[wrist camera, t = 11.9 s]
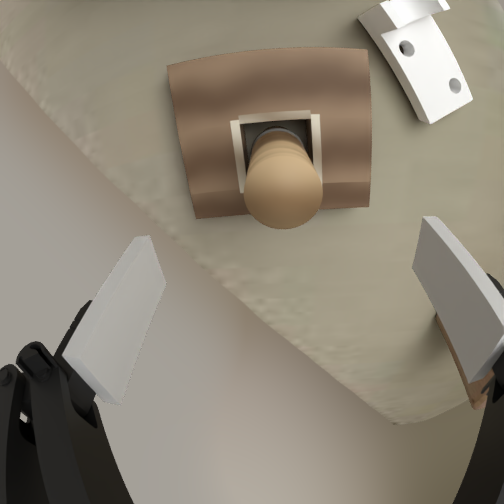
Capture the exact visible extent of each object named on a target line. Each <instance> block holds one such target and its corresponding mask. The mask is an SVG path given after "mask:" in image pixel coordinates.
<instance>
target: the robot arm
mask: <svg viewBox="0 0 504 504" xmlns="http://www.w3.org/2000/svg"><path fill="white" fill-rule="evenodd" d="M412 269H413V270H414V272H415V274H416V275H417V277H418V279H419V281H420V282H421V284H422V286H423V288H424V290H425V291H426V293H427V295H428V297H429V299H430V301H431V302H432V304H433V306H434V308H435V310H436V312H437V314H438V316H439V318H440V320H441V322H442V324H443V326H444V328H445V330H446V332H447V334H448V336H449V339H450V341H451V343H452V345H453V347H454V350H455V352H456V354H457V356H458V359H459V361H460V363H461V366H462V368H463V371H464V373H465V376H466V378H467V381H468V383H472V382H475V381H477V380H480V379H483V378H484V377H485V376H486V375H487V373H488V372H489V371H490V370H491V368H492V370H493V372H494V375H493V377H492V378H491V379H490V380H489V381H488V383H487V384H486V385H485V386H484V387H483V388H482V391H481V394H483V393H484V392H485V391H486V390H487V389H488V388H489V391H488V392H487V394H486V395H487V396H488V397H487V402H486V406H485V411H484V416H483V419H482V423H481V427H480V431H479V434H478V438H477V441H476V445H475V448H474V451H473V454H472V457H471V460H470V463H469V465H468V468H467V471H466V473H465V476H464V479H463V481H462V484H461V486H460V488H459V491H458V493H457V495H456V497H455V500H454V502H453V504H504V289H503V288H502V286H501V285H500V283H499V282H498V281H497V280H496V279H495V278H493V277H492V276H491V275H490V274H486V273H485V272H484V271H483V270H482V268H481V267H480V266H479V264H478V263H477V262H476V261H475V259H474V258H473V257H472V256H471V254H470V253H469V252H468V251H467V250H466V248H465V247H464V246H463V245H462V244H461V243H460V241H459V240H458V239H457V238H456V237H455V236H454V235H453V233H452V232H451V231H450V230H449V229H448V228H447V227H446V226H445V225H444V224H443V223H442V221H441V220H440V219H439V218H438V217H437V216H430V217H423V219H422V224H421V230H420V235H419V240H418V244H417V249H416V254H415V258H414V262H413V266H412ZM166 284H167V283H166V281H165V278H164V275H163V272H162V269H161V267H160V264H159V261H158V258H157V255H156V252H155V250H154V246H153V243H152V240H151V237H150V235H146V236H137V237H135V238H134V239H133V240H132V242H131V243H130V245H129V246H128V247H127V249H126V250H125V252H124V253H123V255H122V256H121V258H120V259H119V260H118V262H117V264H116V265H115V266H114V268H113V270H112V271H111V273H110V274H109V276H108V277H107V279H106V280H105V282H104V283H103V285H102V287H101V288H100V290H99V291H98V293H97V294H96V296H95V298H94V300H89V301H88V302H87V303H86V304H85V305H84V306H83V307H82V308H81V309H80V311H79V312H78V314H77V315H76V317H75V319H74V320H75V321H73V322H72V324H71V326H70V329H69V330H68V331H67V333H66V334H65V336H64V338H63V340H62V341H61V343H60V345H59V347H58V349H57V351H56V352H55V355H54V356H52V355H51V354H50V353H49V351H48V350H47V349H46V348H45V346H44V345H43V344H42V343H41V342H37V341H35V342H31V343H29V344H28V345H26V346H25V347H24V348H23V349H22V350H21V351H20V353H19V354H18V356H17V359H16V364H17V365H18V366H19V368H20V369H21V370H22V371H23V373H21V372H20V371H19V370H18V369H17V368H16V367H15V366H14V365H12V364H8V365H6V366H4V367H3V368H1V369H0V504H134V503H133V501H132V499H131V497H130V495H129V492H128V490H127V488H126V486H125V484H124V481H123V479H122V476H121V474H120V472H119V469H118V467H117V464H116V462H115V459H114V456H113V454H112V451H111V448H110V445H109V442H108V439H107V436H106V433H105V430H104V427H103V424H102V420H101V417H100V413H99V410H98V407H97V405H96V403H95V402H94V401H93V400H94V397H95V395H96V394H97V395H98V396H99V397H100V398H101V399H102V400H103V401H104V402H107V403H111V404H117V405H121V404H122V401H123V398H124V395H125V392H126V389H127V386H128V384H129V381H130V378H131V375H132V372H133V369H134V366H135V364H136V361H137V358H138V355H139V353H140V350H141V347H142V345H143V342H144V339H145V337H146V334H147V331H148V329H149V326H150V324H151V321H152V319H153V316H154V314H155V311H156V309H157V306H158V304H159V301H160V299H161V297H162V294H163V292H164V289H165V287H166ZM21 412H22V413H23V414H24V415H25V416H27V417H28V418H27V422H26V423H25V422H23V421H22V420H21V419H20V413H21Z"/></svg>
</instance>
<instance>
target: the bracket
mask: <svg viewBox="0 0 504 504" xmlns="http://www.w3.org/2000/svg"><path fill="white" fill-rule="evenodd" d="M447 9H450V7H449V6H448V4H447V2H446V1H445V0H392V1H388V0H387V1H385V2H382V3H380V4H378V5H376V6H375V7H373V8H371V9H370V10H368V11H366V12H365V13H363V14H362V15H360V16H358V17H357V18H358V19H359V21H360V22H361V23H362V25H363V26H364V27H365V29H366V30H367V32H368V33H369V34H370V36H371V37H372V39H373V40H374V42H375V43H376V44H377V46H378V47H379V49H380V51H381V52H382V54H383V55H384V57H385V58H386V60H387V61H388V63H389V65H390V66H391V68H392V70H393V71H394V73H395V75H396V77H397V78H398V80H399V82H400V84H401V85H402V87H403V89H404V91H405V93H406V95H407V96H408V98H409V100H410V102H411V104H412V106H413V108H414V110H415V112H416V114H417V116H418V119H419V120H420V121H423V122H426V123H428V124H432V123H434V122H435V121H437V120H439V119H440V118H442V117H444V116H446V115H447V114H449V113H451V112H453V111H454V110H456V109H458V108H459V107H461V106H463V105H465V104H466V103H468V102H470V101H472V100H473V98H472V95H471V93H470V90H469V88H468V86H467V83H466V81H465V79H464V76H463V74H462V72H461V70H460V68H459V65H458V63H457V61H456V59H455V57H454V55H453V53H452V51H451V49H450V48H449V46H448V44H447V42H446V40H445V38H444V37H443V35H442V33H441V31H440V30H439V28H438V26H437V25H436V23H435V21H434V20H433V18H432V16H431V14H434V13H437V12H441V11H444V10H447ZM399 44H400V45H401V46H402V48H403V50H404V53H403V54H402V53H401V52H400V49H399Z"/></svg>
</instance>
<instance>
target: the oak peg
mask: <svg viewBox="0 0 504 504" xmlns="http://www.w3.org/2000/svg"><path fill="white" fill-rule="evenodd" d="M322 197H323V188H322V183H321V180H320V178H319V176H318V174H317V172H316V170H315V168H314V166H313V164H312V162H311V160H310V158H309V156H308V155H307V153H306V151H305V148H304V145H303V143H302V141H301V140H300V138H299V137H298V136H297V135H296V134H295V133H293V132H292V131H290V130H288V129H286V128H284V127H281V126H272V127H269V128H267V129H265V130H264V131H263V132H262V133H261V134H260V135H259V136H258V137H257V138H256V139H255V141H254V143H253V145H252V149H251V158H250V163H249V167H248V172H247V176H246V181H245V185H244V200H245V204H246V207H247V209H248V211H249V212H250V213H251V215H252V216H253V217H254V218H255V219H256V220H257V221H259V222H260V223H262V224H264V225H266V226H268V227H271V228H275V229H291V228H295V227H298V226H300V225H302V224H304V223H306V222H307V221H309V220H310V219H311V218H312V217H313V216H314V215H315V214H316V212H317V211H318V209H319V207H320V205H321V202H322Z"/></svg>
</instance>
